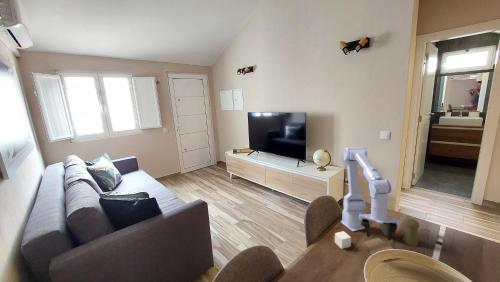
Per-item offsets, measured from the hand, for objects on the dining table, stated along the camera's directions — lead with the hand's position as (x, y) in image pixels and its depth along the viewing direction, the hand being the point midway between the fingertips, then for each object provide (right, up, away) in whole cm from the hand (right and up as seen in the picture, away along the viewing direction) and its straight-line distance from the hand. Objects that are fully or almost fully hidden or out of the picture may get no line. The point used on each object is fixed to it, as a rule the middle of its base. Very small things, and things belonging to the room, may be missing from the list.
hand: (378, 237), depth 91 cm
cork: (+22, -7, +11) cm, 26 cm away
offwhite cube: (-10, -9, +12) cm, 18 cm away
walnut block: (+4, -9, +6) cm, 12 cm away
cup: (+14, -6, +16) cm, 23 cm away
